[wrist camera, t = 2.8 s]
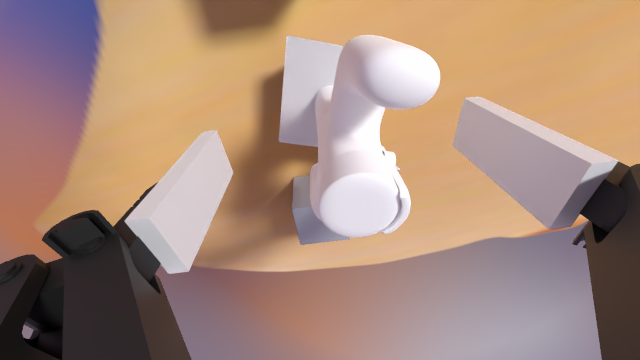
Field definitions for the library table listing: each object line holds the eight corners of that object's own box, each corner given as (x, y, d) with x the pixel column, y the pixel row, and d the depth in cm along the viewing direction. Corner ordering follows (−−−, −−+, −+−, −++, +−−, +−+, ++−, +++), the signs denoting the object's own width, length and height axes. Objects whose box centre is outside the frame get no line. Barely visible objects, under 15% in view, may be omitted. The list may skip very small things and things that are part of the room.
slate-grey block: (293, 176, 25) (291, 208, 21) (340, 171, 25) (347, 202, 21) (301, 210, 28) (300, 244, 24) (342, 205, 28) (349, 239, 24)
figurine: (281, 134, 22) (252, 289, 10) (291, 12, 17) (253, 17, 4) (355, 144, 23) (413, 295, 11) (388, 32, 18) (575, 81, 5)
